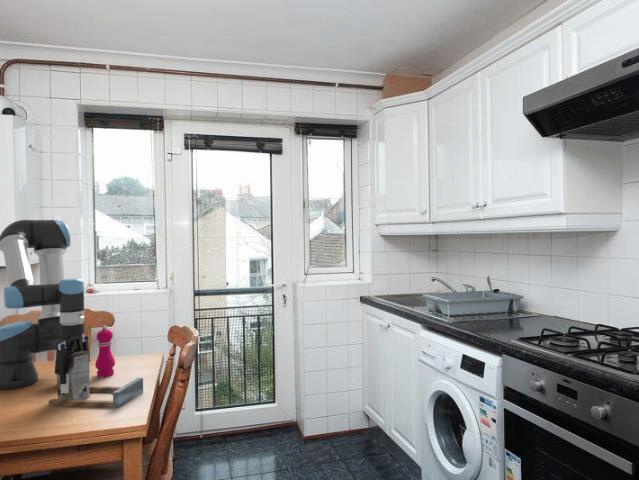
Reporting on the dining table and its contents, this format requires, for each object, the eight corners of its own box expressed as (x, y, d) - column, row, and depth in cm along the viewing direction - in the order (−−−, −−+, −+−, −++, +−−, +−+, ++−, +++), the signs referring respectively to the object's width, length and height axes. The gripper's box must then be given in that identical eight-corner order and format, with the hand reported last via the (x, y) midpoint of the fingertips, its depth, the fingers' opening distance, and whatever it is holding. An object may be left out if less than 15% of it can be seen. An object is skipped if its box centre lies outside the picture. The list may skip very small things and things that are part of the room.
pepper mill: (109, 377, 177) (108, 327, 177) (92, 377, 177) (91, 327, 177) (118, 371, 184) (117, 324, 184) (101, 372, 185) (100, 324, 184)
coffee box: (56, 398, 154) (55, 352, 154) (74, 393, 159) (73, 348, 159) (73, 403, 149) (72, 355, 149) (90, 396, 155) (89, 350, 155)
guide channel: (48, 405, 147) (48, 390, 147) (79, 390, 162) (78, 376, 162) (119, 407, 144) (118, 392, 144) (143, 391, 159) (142, 377, 159)
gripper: (61, 329, 144) (62, 399, 144) (100, 318, 164) (101, 379, 164) (40, 329, 145) (41, 399, 145) (81, 317, 165) (83, 379, 165)
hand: (73, 388), depth 154 cm, fingers closed on coffee box, 8 cm apart
